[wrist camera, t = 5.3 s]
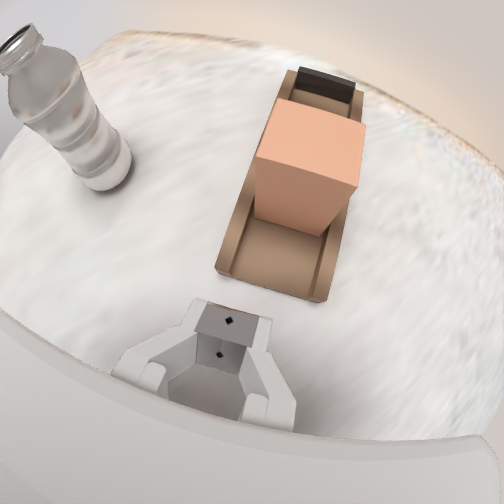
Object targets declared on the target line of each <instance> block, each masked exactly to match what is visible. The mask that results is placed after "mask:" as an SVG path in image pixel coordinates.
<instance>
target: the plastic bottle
mask: <svg viewBox="0 0 504 504" xmlns="http://www.w3.org/2000/svg"><path fill="white" fill-rule="evenodd" d="M42 42H43V37H42V35H41V34H39V33H38V32H37V30H36V28H35V26H34V25H33V24H32V23H30V24H28V25H25V26H24V27H22V28H21V29H19V30H18V31H16V32H15V33H14V34H13V35H11V36H10V38H8V39H7V40H6V41H5V42H4V43H3V44H2V45H1V46H0V73H1V74H2V75H3V76H5V75H8V77H9V79H8V98H9V105H10V108H11V110H12V113H13V115H14V116H15V117H16V118H18V119H19V120H20V121H21V122H23V123H24V124H25V125H27V126H28V127H29V128H31V129H32V130H34V131H35V132H36V133H38V134H39V135H41V136H42V137H43V138H44V139H45V140H46V141H47V142H49V143H50V144H51V145H52V146H53V147H54V148H55V149H56V150H58V151H59V153H60V154H61V155H62V156H63V158H64V159H65V160H66V161H67V163H68V164H69V165H70V166H71V168H72V170H73V172H74V173H75V175H76V176H77V178H78V179H79V180H80V182H81V183H82V184H83V185H85V186H87V187H89V188H91V189H93V190H95V191H105V190H109V189H112V188H114V187H116V186H117V185H118V184H120V183H121V182H122V181H123V180H124V178H125V177H126V175H127V174H128V171H129V169H130V166H131V161H132V155H131V151H130V148H129V145H128V143H127V141H126V140H125V138H124V137H123V136H122V135H121V134H120V133H119V132H118V131H117V130H116V129H114V128H113V127H112V126H111V125H110V124H109V122H108V121H107V120H106V119H105V117H104V116H103V115H102V114H101V113H100V111H99V109H98V107H97V106H96V104H95V102H94V100H93V98H92V96H91V95H90V93H89V91H88V88H87V86H86V83H85V81H84V78H83V75H82V72H81V70H80V67H79V65H78V62H77V60H76V58H75V57H74V56H72V55H71V54H70V53H69V52H67V51H65V50H62V49H59V48H55V47H49V46H43V45H42Z"/></svg>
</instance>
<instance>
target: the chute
mask: <svg viewBox="0 0 504 504" xmlns="http://www.w3.org/2000/svg"><path fill="white" fill-rule="evenodd" d="M355 84H356V83H355V82H352V81H349V80H346V79H343V78H340V77H336V76H333V75H330V74H327V73H323V72H320V71H316V70H312V69H309V68H305V67H301V66H300V67H299V69H298V72H295V71H291V70H287V73H286V75H285V78H284V80H283V83H282V85H281V88H280V90H279V92H278V95H277V98H276V100H275V103H274V105H273V108H272V110H271V113H270V115H269V118H268V120H267V123H266V126H265V128H264V131H263V133H262V136H261V139H260V141H259V144H258V146H257V149H256V152H255V154H254V157H253V160H252V162H251V165H250V168H249V170H248V173H247V176H246V179H245V181H244V184H243V187H242V190H241V192H240V195H239V198H238V201H237V203H236V206H235V209H234V212H233V215H232V217H231V220H230V223H229V226H228V229H227V232H226V235H225V237H224V240H223V243H222V246H221V249H220V252H219V255H218V258H217V261H216V264H215V269H216V270H217V272H218V273H219V274H222V275H226V276H229V277H232V278H235V279H238V280H242V281H245V282H248V283H251V284H255V285H258V286H261V287H264V288H268V289H271V290H274V291H278V292H281V293H285V294H288V295H291V296H295V297H298V298H302V299H305V300H309V301H312V302H316V303H321V302H324V301H327V297H328V293H329V290H330V286H331V282H332V278H333V274H334V269H335V265H336V261H337V257H338V252H339V248H340V243H341V239H342V234H343V229H344V224H345V219H346V214H347V209H348V204H349V199H348V201H347V202H346V203H345V205H344V206H343V207H342V209H341V210H340V211H339V212H338V214H337V215H336V216H335V218H334V219H333V220H332V221H331V223H330V224H329V225H328V227H327V228H326V229H325V230H324V232H323V233H322V234H321V236H320V237H317V236H314V235H311V234H308V233H304V232H301V231H298V230H295V229H291V228H288V227H285V226H281V225H278V224H275V223H271V222H268V221H265V220H261V219H258V218H254V209H255V165H256V154H257V151H258V149H259V146H260V143H261V141H262V138H263V135H264V133H265V130H266V127H267V125H268V122H269V120H270V117H271V114H272V112H273V109H274V107H275V104H276V102H277V99H278V98H280V99H284V100H288V101H292V102H296V103H300V104H303V105H307V106H310V107H314V108H317V109H321V110H324V111H327V112H330V113H333V114H336V115H340V116H343V117H345V118H348V119H351V120H354V121H357V122H360V123H361V116H362V106H363V96H364V92H362V91H359V90H356V89H355Z"/></svg>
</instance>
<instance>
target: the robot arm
mask: <svg viewBox="0 0 504 504" xmlns="http://www.w3.org/2000/svg"><path fill="white" fill-rule="evenodd" d="M271 327H272V319H270V318H266V317H262V316H258V315H254V314H250V313H247V312H243V311H239V310H235V309H231V308H228V307H225V306H222V305H218V304H215V303H212V302H208V301H205V300H202V299H199V298H195V299H194V300H193V302H192V304H191V306H190V308H189V310H188V311H187V313H186V315H185V317H184V319H183V321H182V323H181V325H180V327H179V326H174V327H172V328H170V329H168V330H166V331H164V332H162V333H159V334H157V335H155V336H153V337H151V338H149V339H147V340H145V341H143V342H141V343H139V344H137V345H135V346H133V347H130V348H128V349H126V350H125V352H124V353H123V355H122V357H121V358H120V360H119V361H118V363H117V365H116V366H115V368H114V369H113V371H112V373H111V374H110V375H108V374H106V373H104V372H102V371H100V370H98V369H96V368H94V367H92V366H90V365H88V364H87V363H85V362H83V361H81V360H79V359H77V358H75V357H74V356H72V355H70V354H68V353H67V352H65V351H63V350H61V349H60V348H58V347H56V346H55V345H53V344H52V343H50V342H48V341H47V340H45V339H44V338H42V337H40V336H39V335H37V334H36V333H34V332H33V331H31V330H30V329H28V328H27V327H26V326H24V325H23V324H21V323H20V322H18V321H17V320H16V319H14V318H13V317H12V316H10V315H9V314H8V313H6V312H5V311H4V310H2V309H1V308H0V504H501V484H500V471H499V463H498V458H497V455H496V454H495V452H494V451H493V449H492V448H491V447H490V445H489V444H488V443H487V441H486V440H485V439H484V438H483V437H482V436H481V435H477V434H476V435H467V436H460V437H452V438H442V439H429V440H408V441H377V440H355V439H341V438H331V437H322V436H313V435H306V434H299V433H293V428H294V420H295V412H296V403H297V402H296V400H295V398H294V396H293V394H292V392H291V390H290V389H289V387H288V385H287V383H286V381H285V379H284V377H283V376H282V374H281V372H280V370H279V368H278V366H277V364H276V362H275V360H274V359H273V357H272V355H271V353H269V352H267V347H268V342H269V337H270V332H271ZM195 362H196V363H199V364H203V365H206V366H210V367H213V368H217V369H220V370H223V371H227V372H230V373H233V374H236V375H238V377H239V380H240V383H241V386H242V389H243V392H244V394H245V397H246V401H245V403H244V405H243V408H242V410H241V413H240V415H239V417H238V420H237V421H235V420H232V419H228V418H224V417H220V416H217V415H213V414H210V413H207V412H203V411H200V410H197V409H194V408H191V407H188V406H185V405H182V404H179V403H176V402H173V401H170V400H169V395H168V385H167V383H169V382H170V381H172V380H173V379H174V378H176V377H177V376H179V375H180V374H182V373H183V372H184V371H186V370H187V369H189V368H190V367H191V366H193V365H194V364H195Z"/></svg>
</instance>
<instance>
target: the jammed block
mask: <svg viewBox="0 0 504 504" xmlns="http://www.w3.org/2000/svg"><path fill="white" fill-rule="evenodd" d="M365 128H366V125H365V124H362V123H360V122H357V121H354V120H351V119H348V118H345V117H343V116H340V115H336V114H333V113H330V112H327V111H324V110H321V109H317V108H314V107H310V106H307V105H303V104H300V103H296V102H292V101H288V100H284V99H280V98H278V99H277V102H276V104H275V107H274V109H273V112H272V114H271V117H270V120H269V122H268V125H267V127H266V130H265V133H264V135H263V138H262V141H261V143H260V146H259V149H258V151H257V154H256V165H255V209H254V218H258V219H261V220H265V221H268V222H271V223H275V224H278V225H281V226H285V227H288V228H291V229H295V230H298V231H301V232H304V233H308V234H311V235H314V236H317V237H320V236H321V234H322V233H323V232H324V230H325V229H326V228H327V227H328V225H329V224H330V223H331V221H332V220H333V219H334V218H335V216H336V215H337V214H338V212H339V211H340V210H341V209H342V207H343V206H344V205H345V203H346V202H347V201H348V199H349V198H350V197H351V195H352V194H353V193H354V191H355V190H356V189H357V187H358V182H359V175H360V168H361V161H362V154H363V146H364V137H365Z"/></svg>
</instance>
